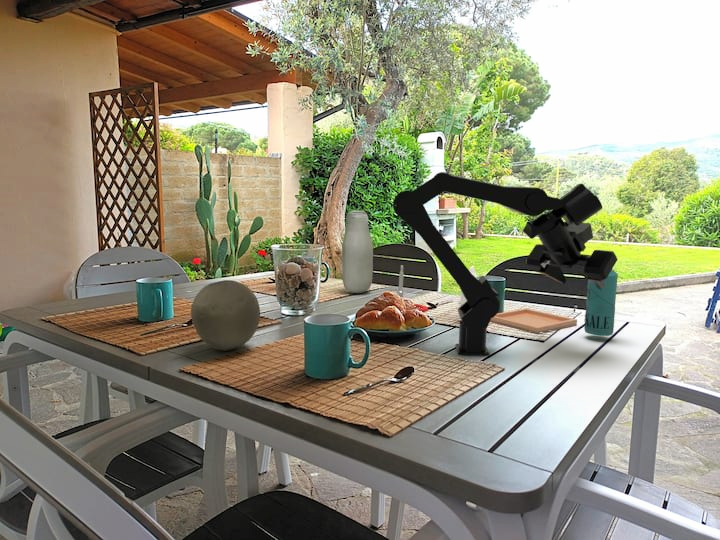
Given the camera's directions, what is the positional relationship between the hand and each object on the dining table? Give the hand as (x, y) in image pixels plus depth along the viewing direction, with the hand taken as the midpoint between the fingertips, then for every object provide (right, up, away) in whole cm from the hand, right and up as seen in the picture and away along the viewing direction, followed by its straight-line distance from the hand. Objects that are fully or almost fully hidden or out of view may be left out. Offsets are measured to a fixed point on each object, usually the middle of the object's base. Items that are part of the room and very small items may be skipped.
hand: (583, 285), depth 116 cm
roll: (-16, -7, +45) cm, 48 cm away
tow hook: (-35, -9, +36) cm, 51 cm away
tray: (-5, -11, +21) cm, 24 cm away
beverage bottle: (+6, -13, +6) cm, 16 cm away
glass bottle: (-51, -5, +61) cm, 80 cm away
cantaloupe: (-78, -14, -5) cm, 79 cm away
